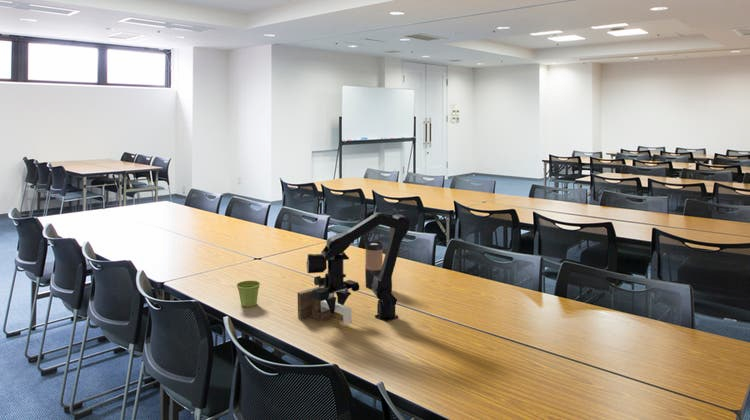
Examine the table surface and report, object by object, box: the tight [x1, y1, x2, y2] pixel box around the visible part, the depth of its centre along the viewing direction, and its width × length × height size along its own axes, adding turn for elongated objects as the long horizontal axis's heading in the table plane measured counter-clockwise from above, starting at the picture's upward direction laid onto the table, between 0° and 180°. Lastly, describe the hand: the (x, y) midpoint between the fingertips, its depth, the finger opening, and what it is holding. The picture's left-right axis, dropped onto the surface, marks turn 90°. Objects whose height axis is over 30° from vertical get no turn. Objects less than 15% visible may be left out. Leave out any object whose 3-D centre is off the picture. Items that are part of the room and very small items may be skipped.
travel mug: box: [364, 240, 383, 290], centre depth 231 cm, size 8×8×20 cm
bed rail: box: [321, 300, 352, 325], centre depth 191 cm, size 14×3×5 cm, turn 44°
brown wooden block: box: [297, 286, 336, 322], centre depth 196 cm, size 8×16×10 cm, turn 134°
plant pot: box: [235, 280, 262, 308], centre depth 208 cm, size 9×9×9 cm
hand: (335, 312), depth 191 cm, fingers closed on bed rail, 3 cm apart
